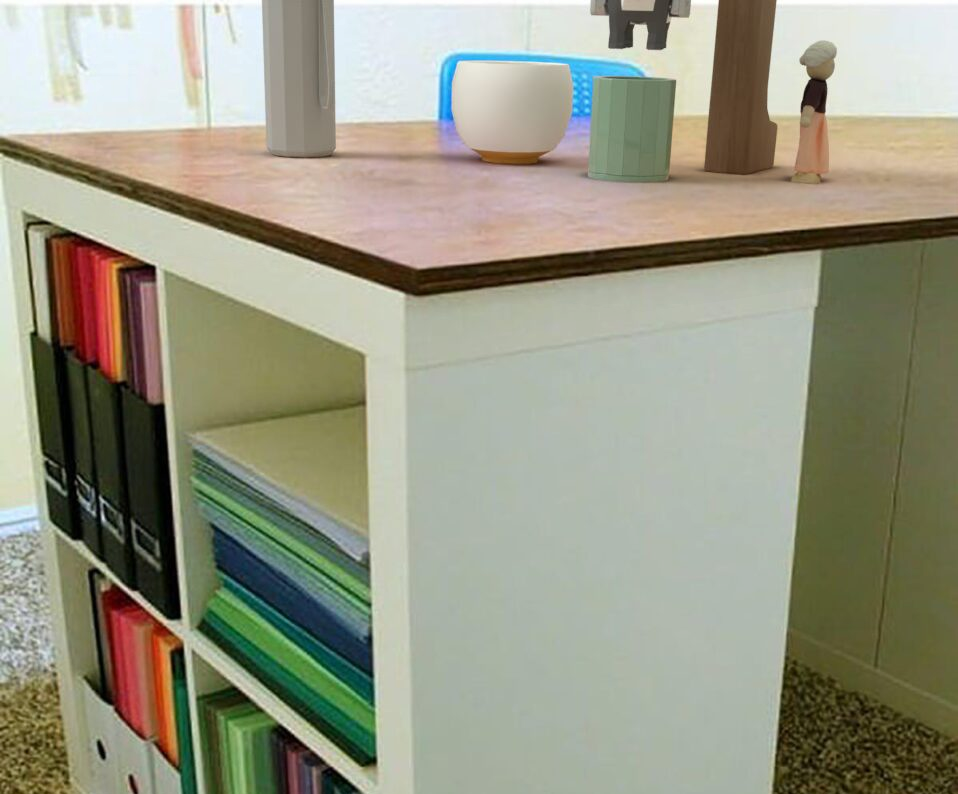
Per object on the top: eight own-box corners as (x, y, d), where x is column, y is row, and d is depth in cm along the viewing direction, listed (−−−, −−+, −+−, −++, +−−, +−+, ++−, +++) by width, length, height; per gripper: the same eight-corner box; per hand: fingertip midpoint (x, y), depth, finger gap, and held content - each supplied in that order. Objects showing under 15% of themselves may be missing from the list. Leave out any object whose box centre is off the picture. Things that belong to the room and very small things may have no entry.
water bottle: (249, 154, 134) (239, -113, 125) (312, 150, 139) (306, -106, 130) (300, 162, 128) (294, -118, 119) (364, 158, 133) (362, -111, 124)
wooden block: (733, 164, 136) (750, -20, 130) (774, 168, 134) (794, -19, 128) (702, 172, 129) (719, -23, 123) (745, 175, 127) (765, -23, 120)
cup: (425, 159, 133) (426, 60, 130) (508, 153, 142) (511, 60, 138) (512, 171, 125) (516, 65, 122) (594, 163, 134) (599, 65, 130)
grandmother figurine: (831, 186, 120) (848, 41, 116) (789, 184, 121) (804, 40, 116) (823, 177, 128) (839, 40, 123) (784, 175, 128) (798, 39, 124)
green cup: (678, 177, 124) (686, 78, 121) (653, 185, 118) (660, 81, 115) (604, 171, 127) (610, 75, 124) (575, 178, 121) (580, 77, 118)
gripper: (776, -153, 111) (760, 19, 116) (556, -147, 119) (550, 14, 124) (758, -162, 106) (742, 19, 111) (529, -155, 114) (523, 13, 119)
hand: (638, 16), depth 117 cm, fingers closed on giant panda, 6 cm apart
